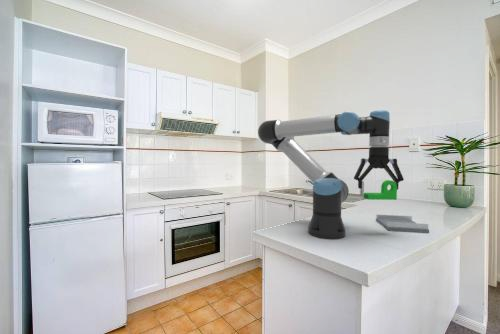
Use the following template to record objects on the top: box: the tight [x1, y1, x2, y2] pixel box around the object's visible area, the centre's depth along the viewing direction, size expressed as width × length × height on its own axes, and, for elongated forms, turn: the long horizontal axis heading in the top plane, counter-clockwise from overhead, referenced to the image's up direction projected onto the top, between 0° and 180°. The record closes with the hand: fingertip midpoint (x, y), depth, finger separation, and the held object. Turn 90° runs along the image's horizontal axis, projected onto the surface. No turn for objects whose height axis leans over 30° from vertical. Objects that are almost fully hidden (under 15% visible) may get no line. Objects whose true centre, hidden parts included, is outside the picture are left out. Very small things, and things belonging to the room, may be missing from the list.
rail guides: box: [375, 214, 429, 229], centre depth 113 cm, size 16×16×2 cm
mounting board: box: [375, 218, 430, 234], centre depth 113 cm, size 16×18×2 cm
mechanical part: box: [363, 179, 398, 201], centre depth 101 cm, size 12×6×8 cm, turn 92°
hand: (377, 196), depth 103 cm, fingers closed on mechanical part, 12 cm apart
